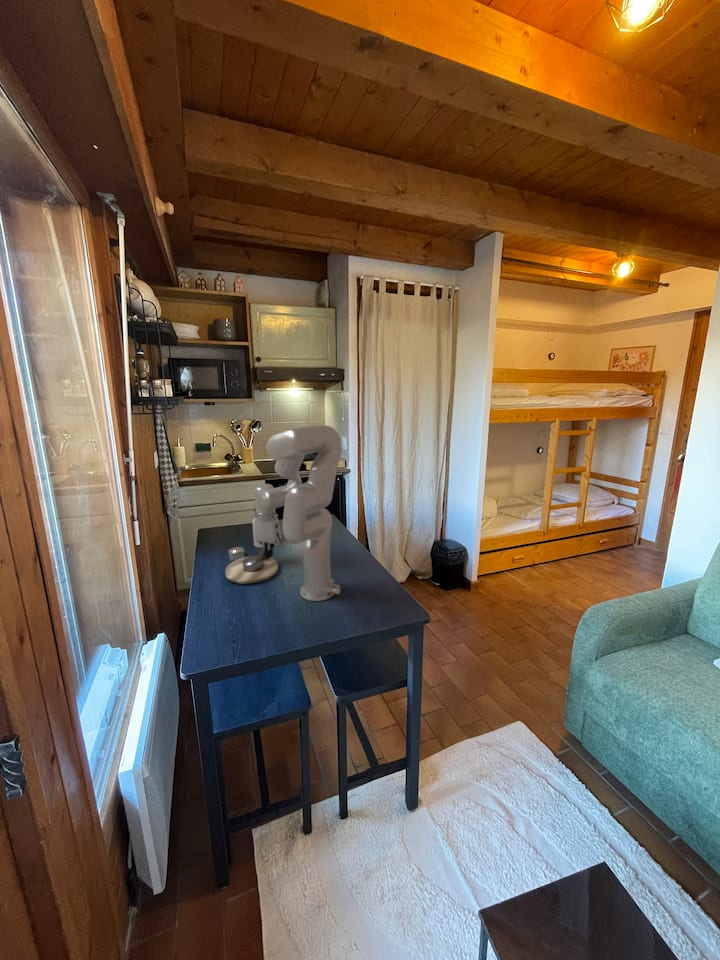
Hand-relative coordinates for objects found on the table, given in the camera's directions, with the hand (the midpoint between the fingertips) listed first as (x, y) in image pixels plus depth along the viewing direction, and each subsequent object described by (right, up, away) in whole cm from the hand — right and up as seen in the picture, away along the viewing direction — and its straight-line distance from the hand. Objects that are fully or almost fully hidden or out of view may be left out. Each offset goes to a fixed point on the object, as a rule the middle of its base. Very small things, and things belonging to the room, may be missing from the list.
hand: (268, 556), depth 156 cm
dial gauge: (-16, -2, +8) cm, 18 cm away
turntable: (-5, -4, -5) cm, 9 cm away
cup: (-8, +2, +22) cm, 24 cm away
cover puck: (-5, -3, -6) cm, 8 cm away
